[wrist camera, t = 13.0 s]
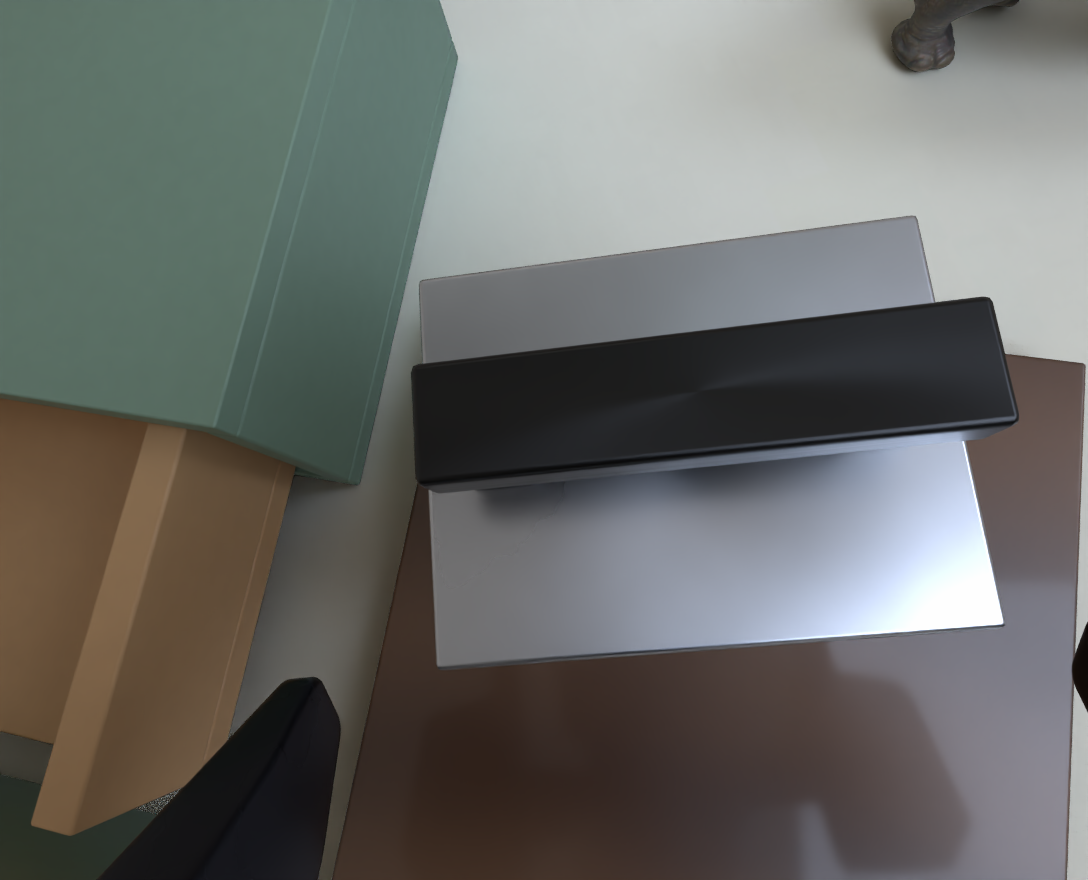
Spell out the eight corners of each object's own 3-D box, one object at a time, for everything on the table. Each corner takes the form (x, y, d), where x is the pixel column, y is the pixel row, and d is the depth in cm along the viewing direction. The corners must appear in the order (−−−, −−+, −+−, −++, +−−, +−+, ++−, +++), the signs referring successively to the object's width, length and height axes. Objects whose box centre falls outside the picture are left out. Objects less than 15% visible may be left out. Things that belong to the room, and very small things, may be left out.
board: (1001, 1597, 12) (1039, 1703, 11) (254, 1319, 14) (220, 1383, 13) (1055, 379, 16) (1087, 362, 15) (469, 304, 18) (458, 285, 17)
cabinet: (360, 486, 18) (213, 428, 12) (-59, 414, 20) (-379, 331, 13) (459, 57, 20) (382, -184, 14) (75, 30, 22) (-143, -192, 16)
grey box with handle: (773, 610, 15) (1137, 655, 4) (555, 627, 15) (377, 708, 5) (746, 435, 16) (995, 98, 5) (540, 457, 16) (362, 189, 5)
